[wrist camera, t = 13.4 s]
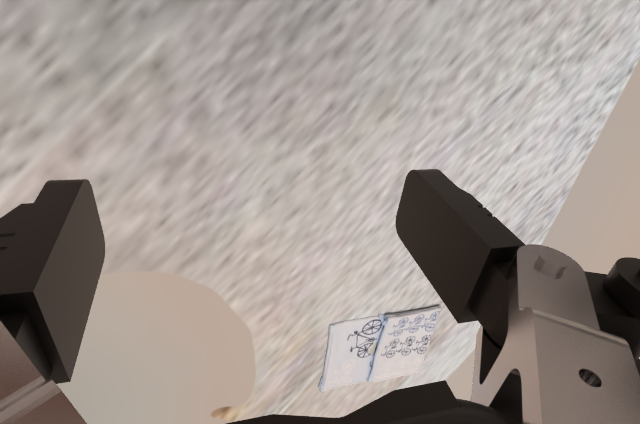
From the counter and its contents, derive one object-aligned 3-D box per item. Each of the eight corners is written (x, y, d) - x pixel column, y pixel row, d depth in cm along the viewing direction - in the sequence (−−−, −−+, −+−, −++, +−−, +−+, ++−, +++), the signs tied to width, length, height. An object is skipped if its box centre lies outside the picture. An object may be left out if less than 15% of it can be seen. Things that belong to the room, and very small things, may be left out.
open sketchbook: (414, 368, 77) (419, 378, 76) (315, 387, 72) (318, 397, 70) (439, 300, 67) (446, 310, 65) (326, 316, 62) (330, 327, 60)
